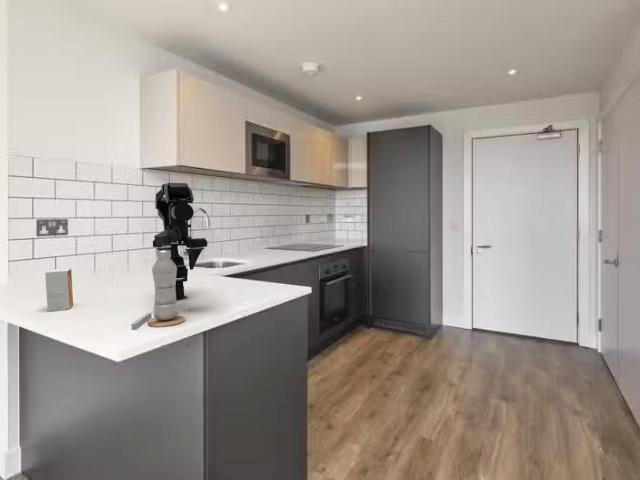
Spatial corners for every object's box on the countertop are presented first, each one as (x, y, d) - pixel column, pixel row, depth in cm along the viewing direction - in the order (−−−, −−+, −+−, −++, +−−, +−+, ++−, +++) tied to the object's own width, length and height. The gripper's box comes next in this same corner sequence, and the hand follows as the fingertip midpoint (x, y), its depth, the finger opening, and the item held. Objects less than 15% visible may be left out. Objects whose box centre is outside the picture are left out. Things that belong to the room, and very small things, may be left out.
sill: (136, 329, 101) (136, 323, 101) (131, 329, 101) (131, 324, 101) (151, 317, 113) (151, 312, 113) (147, 317, 113) (147, 312, 113)
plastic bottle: (152, 318, 109) (149, 250, 108) (177, 315, 113) (174, 249, 111) (154, 324, 104) (151, 252, 102) (180, 320, 107) (177, 250, 106)
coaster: (139, 324, 105) (139, 322, 105) (167, 316, 115) (167, 314, 114) (165, 328, 101) (165, 326, 101) (192, 319, 110) (192, 317, 110)
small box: (70, 309, 126) (67, 270, 125) (47, 311, 123) (44, 272, 122) (73, 304, 133) (71, 268, 132) (52, 306, 130) (49, 269, 129)
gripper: (137, 222, 119) (140, 271, 120) (181, 221, 112) (183, 273, 113) (165, 221, 130) (167, 266, 130) (207, 221, 122) (209, 268, 123)
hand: (180, 269), depth 124 cm, fingers open, 9 cm apart
